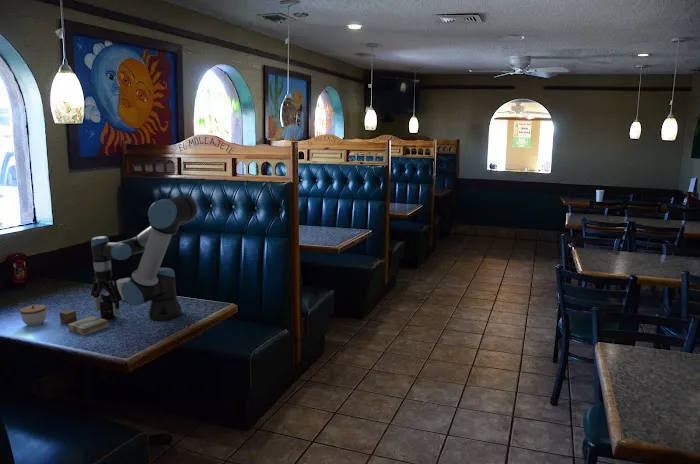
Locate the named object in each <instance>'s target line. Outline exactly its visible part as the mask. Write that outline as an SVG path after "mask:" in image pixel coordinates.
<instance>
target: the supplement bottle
mask: <svg viewBox="0 0 700 464" xmlns="http://www.w3.org/2000/svg"><path fill="white" fill-rule="evenodd" d="M100 295H101V296H100V297H101V300H100V302H99V306H100V311H99V315H100V318H101V319H105V320H108V321H112V320H115V318H116V317H117V315H116V316H114V311H113V300H112V298H111V296H110V295H109V293H108V292H104V293H103V292H102V293H101V294H100Z"/></svg>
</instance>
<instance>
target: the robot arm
mask: <svg viewBox="0 0 700 464" xmlns="http://www.w3.org/2000/svg"><path fill="white" fill-rule="evenodd" d="M198 210H199V209H198V204H197V203H196V202H195V200H194V199H193V198H191V197H190V196H187V195H180V196H175V197H169V198H162V199H159V200H156V201H155V202H153V203H152V204H151V205H150V207H149V209H148V212H147V217H148V221H149V226H148V227H146V228H145V229H144V230H142V231H141V232H140V233H139V234H137V235H136V236H134V237H132V238H129V239H125V240H121V241H116V242H115V241H114V242H111V241H110V240H109V237H108V236H106V235H105V236H104V235H99V236H95V237H92V238H91V239H90V240H91V241H90V243H91V244H90V245H91V246H90V248H91V254H92V261H93V269H94V270H93V271H94V278H93V279H92V287H91V292H90V295H91V297H93V298H94V303H95V310H96V311H95V312H100V306H99V302H100V300H101V294H102V293H103V292H102V291H103V290H105V291H106V292H107V293H109V295H110V296H111V298H112V300H113V311H114V316H116V317H117V316H119V315H121V310H120V307H121V305H120V301H123V300H122V298H121V295H120V293H119V290H118V287H117V280H111V279H112V277H113V269H112V259H113V260H118V261H121V260H122V261H125V260H127V259H129V257H130V256H132V255H136V254H141V253H143V254H142V255H141V259H140V262H139V264H138V267H137V269H135V270H133V272H132V273H131V276H130V277H129V278H130V280H129V281H126V282H125V283H123V285H122V295H123V297H124V299H125V300H124V301H126V302H127V303H128V304H129V305H131V306H134V307H135V306H136V307H137V306H140V305H143V304H145V303H147V302H150V305H149V309H148V312H147V313H148V318H149V320H153V321H168V320H173V319H176V318H178V317H180V316H182V312H183V311H182V310H183V309H182V307H181V305H180V302H179V301H178V298H177V297H178V296H177V284H176V275H175V271H174V269H173V268H171V267H170V268H169V267H161V265H162V262H163V260H164V257H165V255H166V252H167V249H168V246H169V244H170V241H171V239H172V236H173V235H176V234H177V233H178V231H179V227H180V226H185V225H187V224H189V222H191V221H193V220H194V219H195V218H196V216H197V215H198Z"/></svg>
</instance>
